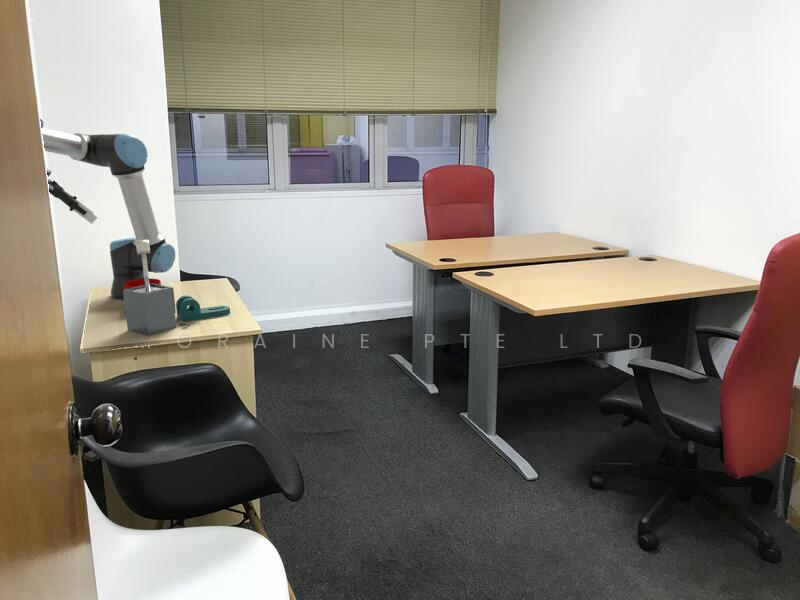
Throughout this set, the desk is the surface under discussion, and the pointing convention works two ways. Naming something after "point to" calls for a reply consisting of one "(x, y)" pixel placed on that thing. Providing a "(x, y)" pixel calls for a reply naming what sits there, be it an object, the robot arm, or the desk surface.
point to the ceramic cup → (140, 283)
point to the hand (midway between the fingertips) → (92, 218)
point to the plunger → (145, 265)
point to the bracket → (197, 310)
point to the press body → (150, 310)
